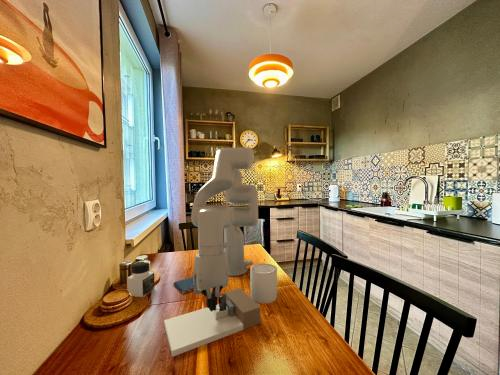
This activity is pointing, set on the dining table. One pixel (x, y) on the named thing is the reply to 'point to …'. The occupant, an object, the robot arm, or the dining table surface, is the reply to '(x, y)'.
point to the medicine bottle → (140, 280)
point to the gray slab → (211, 323)
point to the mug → (263, 283)
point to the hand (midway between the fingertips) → (211, 308)
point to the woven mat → (184, 285)
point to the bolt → (222, 307)
